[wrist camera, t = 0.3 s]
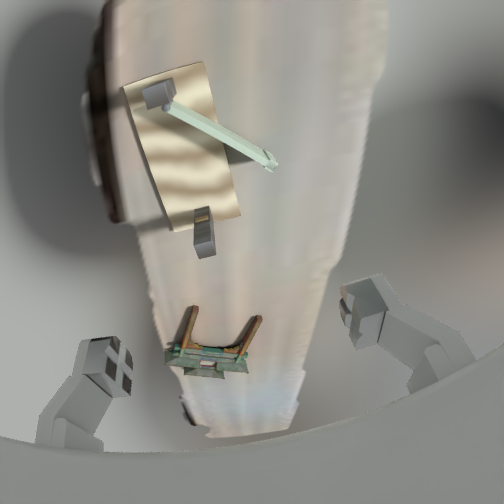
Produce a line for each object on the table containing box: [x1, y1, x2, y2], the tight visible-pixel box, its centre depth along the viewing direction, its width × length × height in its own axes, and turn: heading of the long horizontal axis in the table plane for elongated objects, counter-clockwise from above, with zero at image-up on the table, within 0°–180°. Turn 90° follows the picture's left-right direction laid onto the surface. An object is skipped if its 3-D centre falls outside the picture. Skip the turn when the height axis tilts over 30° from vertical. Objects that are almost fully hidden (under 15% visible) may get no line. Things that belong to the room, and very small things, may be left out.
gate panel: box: [161, 99, 278, 172], centre depth 46 cm, size 21×2×6 cm, turn 56°
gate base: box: [124, 62, 241, 259], centre depth 46 cm, size 31×14×13 cm, turn 11°
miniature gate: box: [164, 305, 262, 379], centre depth 84 cm, size 27×6×30 cm
